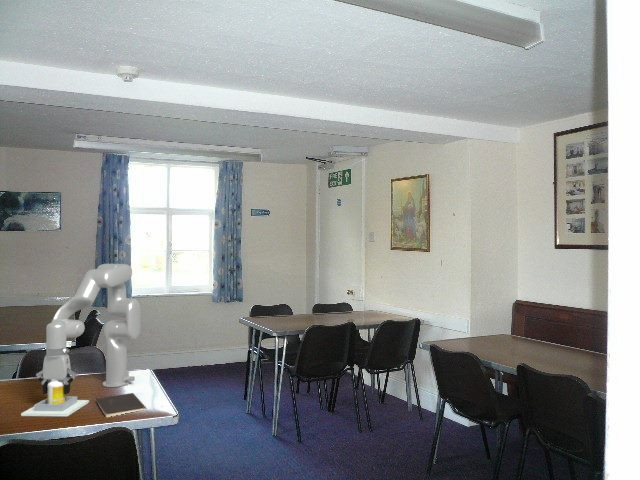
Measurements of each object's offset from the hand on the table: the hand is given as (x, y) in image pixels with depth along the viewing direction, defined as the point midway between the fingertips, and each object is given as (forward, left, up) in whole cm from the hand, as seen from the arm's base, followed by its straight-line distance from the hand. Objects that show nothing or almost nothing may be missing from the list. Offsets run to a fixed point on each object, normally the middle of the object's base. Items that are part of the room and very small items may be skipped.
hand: (56, 393), depth 215 cm
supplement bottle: (0, 0, -6) cm, 6 cm away
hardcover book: (-26, -4, -7) cm, 27 cm away
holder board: (0, 0, -7) cm, 7 cm away
